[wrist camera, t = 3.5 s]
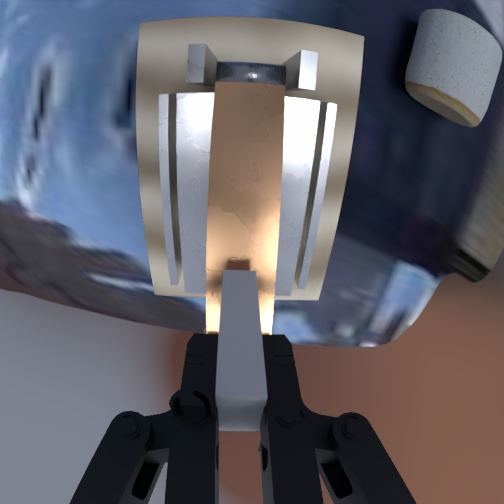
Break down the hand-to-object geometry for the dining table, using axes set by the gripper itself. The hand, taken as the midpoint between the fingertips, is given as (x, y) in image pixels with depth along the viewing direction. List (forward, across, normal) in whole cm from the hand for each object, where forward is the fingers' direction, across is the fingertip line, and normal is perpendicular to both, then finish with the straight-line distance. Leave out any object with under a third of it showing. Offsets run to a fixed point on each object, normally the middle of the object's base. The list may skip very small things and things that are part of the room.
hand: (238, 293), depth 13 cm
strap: (+3, 0, +3) cm, 4 cm away
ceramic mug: (+11, +17, +15) cm, 26 cm away
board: (+12, 0, +3) cm, 12 cm away
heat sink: (+10, 0, +2) cm, 10 cm away
